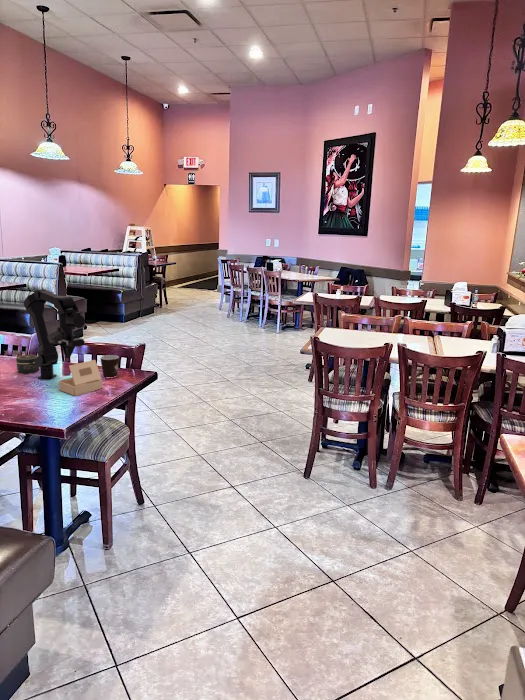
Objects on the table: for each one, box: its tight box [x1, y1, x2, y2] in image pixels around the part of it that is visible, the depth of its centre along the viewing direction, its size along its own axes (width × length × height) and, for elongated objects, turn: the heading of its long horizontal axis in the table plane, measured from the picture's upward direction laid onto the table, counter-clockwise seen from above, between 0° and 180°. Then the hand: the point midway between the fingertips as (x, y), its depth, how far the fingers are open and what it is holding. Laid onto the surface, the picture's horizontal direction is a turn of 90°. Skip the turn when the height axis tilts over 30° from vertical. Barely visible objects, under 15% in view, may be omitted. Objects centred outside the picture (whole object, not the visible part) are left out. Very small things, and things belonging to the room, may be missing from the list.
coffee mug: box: [100, 354, 120, 378], centre depth 246 cm, size 12×9×10 cm
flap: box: [68, 359, 102, 385], centre depth 222 cm, size 1×13×9 cm, turn 144°
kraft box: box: [58, 377, 104, 397], centre depth 226 cm, size 12×15×4 cm
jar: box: [15, 354, 40, 375], centre depth 248 cm, size 10×10×8 cm
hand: (67, 358), depth 228 cm, fingers closed
